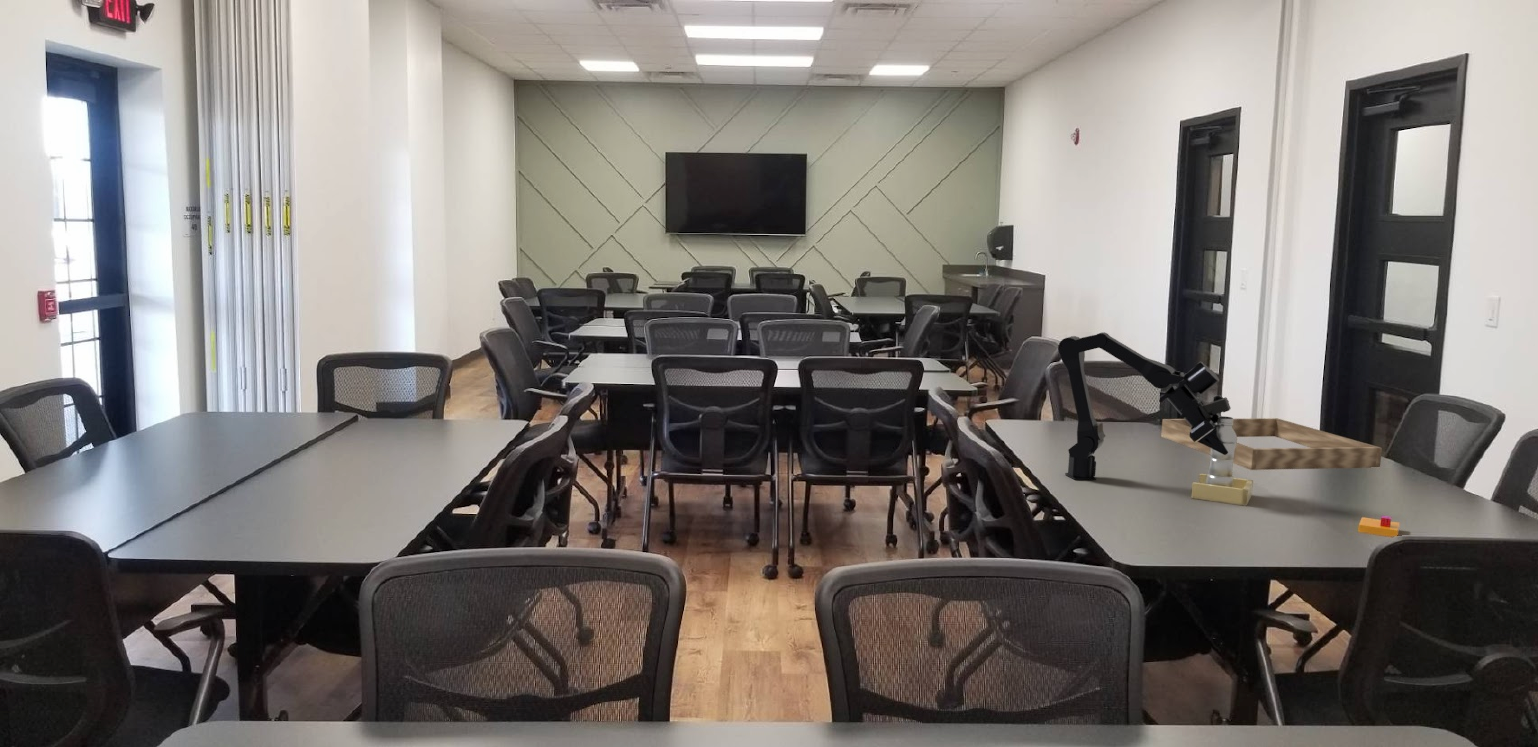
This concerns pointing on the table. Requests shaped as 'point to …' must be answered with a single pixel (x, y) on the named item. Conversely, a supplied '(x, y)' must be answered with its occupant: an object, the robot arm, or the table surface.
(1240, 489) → the bay
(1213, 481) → the plastic bottle
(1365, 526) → the orange block
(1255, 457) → the frame
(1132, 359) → the robot arm
